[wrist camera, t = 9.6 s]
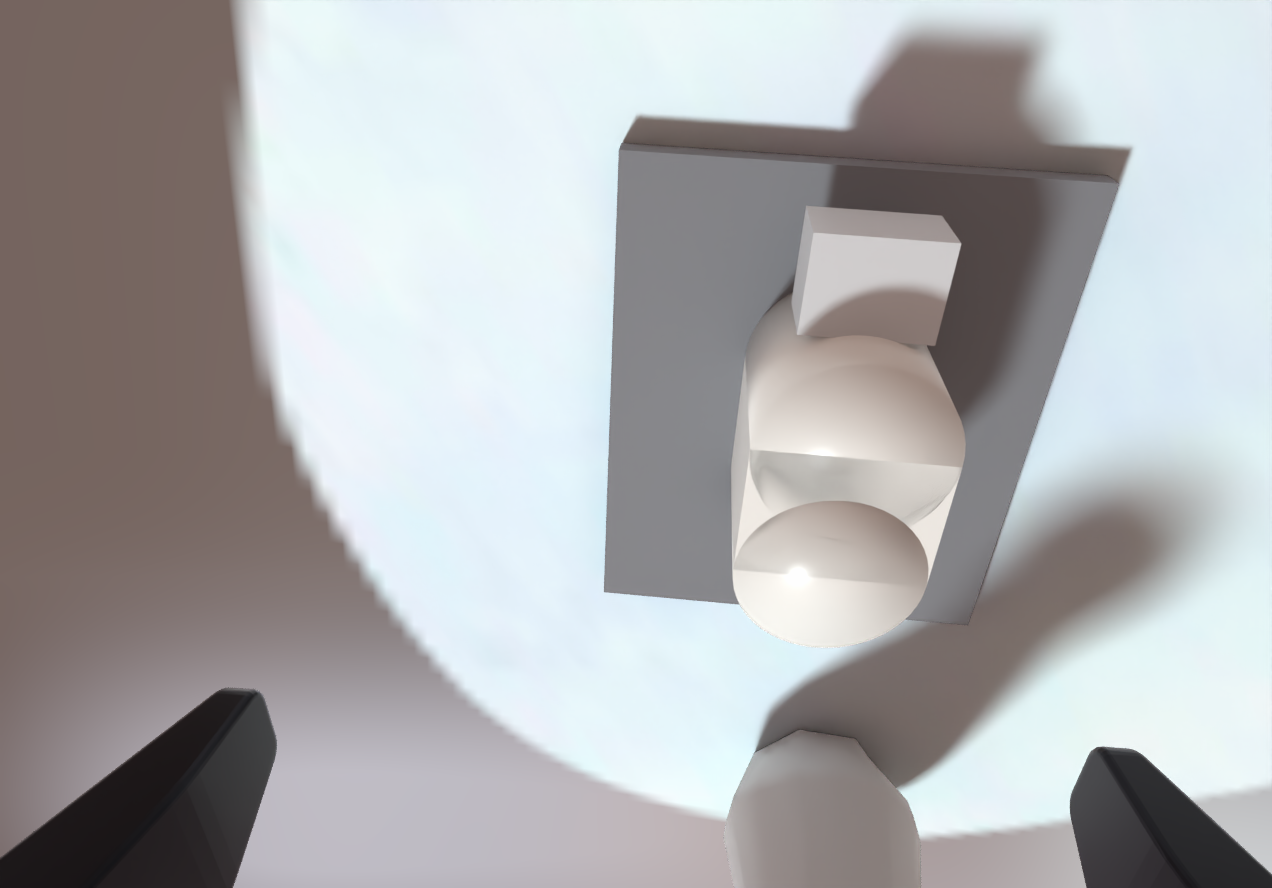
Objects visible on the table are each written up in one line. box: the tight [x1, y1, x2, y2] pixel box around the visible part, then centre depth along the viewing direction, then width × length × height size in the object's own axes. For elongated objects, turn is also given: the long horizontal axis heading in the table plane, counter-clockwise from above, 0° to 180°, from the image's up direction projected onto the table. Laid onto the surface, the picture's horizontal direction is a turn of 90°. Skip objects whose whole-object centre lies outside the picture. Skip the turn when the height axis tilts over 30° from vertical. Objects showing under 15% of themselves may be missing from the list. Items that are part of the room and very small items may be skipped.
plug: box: [731, 206, 966, 648], centre depth 18 cm, size 9×4×4 cm, turn 177°
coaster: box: [604, 143, 1119, 625], centre depth 21 cm, size 10×12×1 cm
